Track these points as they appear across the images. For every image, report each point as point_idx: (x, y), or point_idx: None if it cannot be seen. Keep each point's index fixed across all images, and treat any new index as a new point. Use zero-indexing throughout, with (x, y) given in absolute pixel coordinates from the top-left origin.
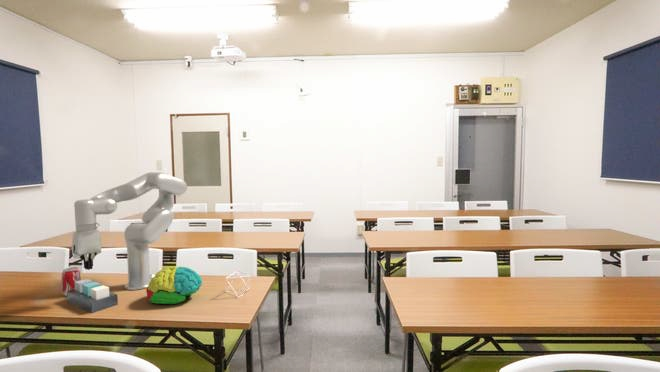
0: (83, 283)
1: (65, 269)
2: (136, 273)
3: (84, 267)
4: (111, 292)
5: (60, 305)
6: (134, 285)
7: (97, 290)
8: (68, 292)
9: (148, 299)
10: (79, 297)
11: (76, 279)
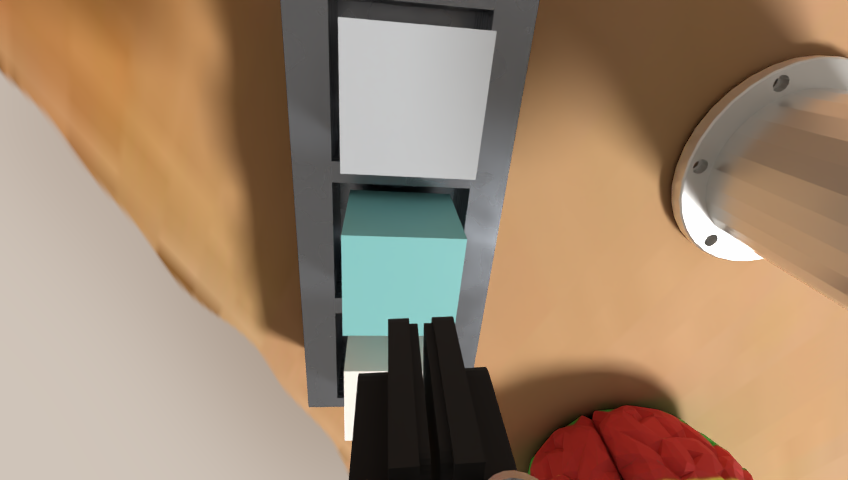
0: (381, 171)
1: None
2: (807, 280)
3: (360, 383)
4: (472, 351)
5: (228, 33)
6: (715, 214)
7: None
8: (283, 13)
9: (532, 468)
10: (299, 252)
11: None
